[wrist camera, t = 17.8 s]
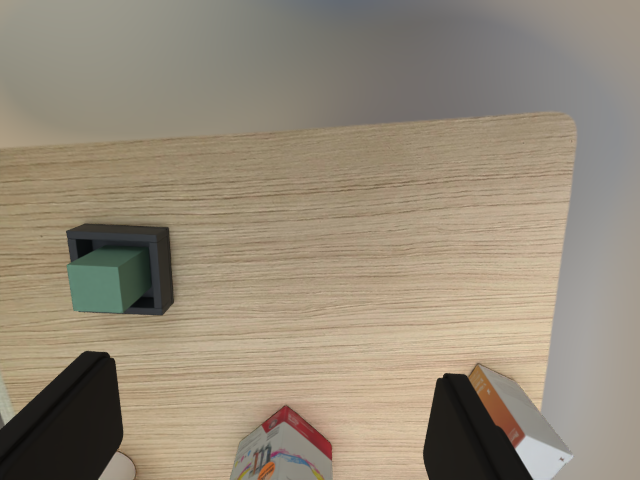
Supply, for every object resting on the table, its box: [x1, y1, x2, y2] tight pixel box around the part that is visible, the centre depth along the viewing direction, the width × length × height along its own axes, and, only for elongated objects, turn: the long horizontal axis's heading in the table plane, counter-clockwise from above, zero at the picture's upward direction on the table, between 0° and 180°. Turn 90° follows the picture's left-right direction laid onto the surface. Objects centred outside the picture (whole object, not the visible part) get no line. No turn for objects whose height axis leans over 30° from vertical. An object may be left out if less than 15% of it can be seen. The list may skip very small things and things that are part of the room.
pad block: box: [67, 245, 152, 313], centre depth 35 cm, size 4×4×6 cm
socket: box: [66, 224, 174, 315], centre depth 37 cm, size 9×9×3 cm
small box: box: [468, 364, 574, 480], centre depth 39 cm, size 8×6×10 cm
